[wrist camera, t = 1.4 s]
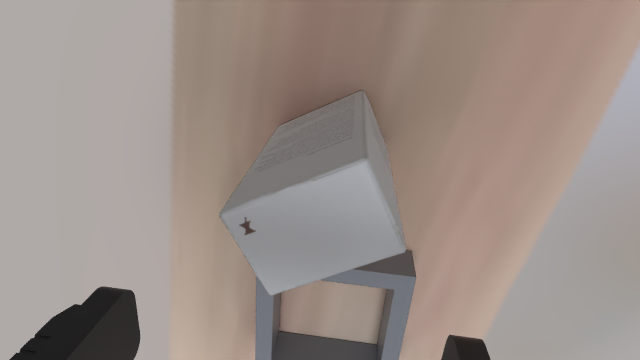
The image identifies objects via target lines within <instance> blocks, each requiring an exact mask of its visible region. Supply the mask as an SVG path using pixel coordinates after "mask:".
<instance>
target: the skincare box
mask: <svg viewBox="0 0 640 360" xmlns="http://www.w3.org/2000/svg"><path fill="white" fill-rule="evenodd" d="M219 216H220V218H221V219H222V221H223V222H224V224H225V225H226V227H227V228H228V230H229V231H230V233H231V234H232V236H233V238H234V239H235V241H236V242H237V244H238V246H239V247H240V249H241V250H242V252H243V254H244V255H245V257H246V259H247V260H248V262H249V264H250V265H251V267H252V268H253V270H254V272H255V273H256V275H257V277H258V278H259V280H260V281H261V283H262V285H263V286H264V288H265V289H266V291H267V292H268V294H269V295H275V294H277V293H281V292H284V291H287V290H290V289H293V288H296V287H299V286H302V285H306V284H309V283H312V282H315V281H318V280H321V279H324V278H327V277H330V276H333V275H336V274H339V273H342V272H345V271H348V270H351V269H354V268H357V267H360V266H364V265H367V264H370V263H373V262H376V261H379V260H382V259H385V258H388V257H392V256H395V255H398V254H402V253H404V252H405V251H406V245H405V240H404V234H403V229H402V224H401V219H400V213H399V208H398V203H397V198H396V193H395V187H394V182H393V176H392V171H391V166H390V160H389V155H388V149H387V146H386V144H385V141H384V139H383V136H382V134H381V131H380V129H379V126H378V123H377V121H376V118H375V116H374V113H373V111H372V108H371V106H370V103H369V101H368V98H367V96H366V93H365V92H364V90H361V91H358V92H356V93H354V94H351V95H349V96H347V97H344V98H342V99H340V100H337V101H335V102H333V103H331V104H328V105H326V106H323V107H321V108H319V109H317V110H314V111H312V112H310V113H307V114H305V115H303V116H300V117H298V118H296V119H293V120H291V121H289V122H287V123H284V124H282V125H280V126H278V128H277V129H276V131H275V132H274V134H273V135H272V136H271V138H270V139H269V141H268V142H267V144H266V145H265V147H264V148H263V150H262V151H261V153H260V154H259V156H258V157H257V159H256V160H255V162H254V163H253V165H252V166H251V168H250V169H249V171H248V172H247V174H246V175H245V177H244V178H243V180H242V181H241V182H240V184H239V185H238V187H237V188H236V190H235V191H234V192H233V194H232V195H231V197H230V198H229V200H228V202H227V203H226V204H225V206H224V207H223V209H222V211H221V212H220V215H219Z"/></svg>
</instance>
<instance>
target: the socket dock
mask: <svg viewBox="0 0 640 360" xmlns="http://www.w3.org/2000/svg"><path fill="white" fill-rule="evenodd" d="M321 280H323V281H331V282H338V283H346V284H354V285H361V286H369V287H377V288H384V289H387V293H386V299H385V304H384V310H383V315H382V321H381V326H380V332H379V337H378V343H377V345H374V344H366V343H359V342H352V341H345V340H338V339H331V338H323V337H316V336H309V335H302V334H295V333H288V332H280V331H279V323H280V301H281V293H277V294H275V295H269V294H268V292H267V291H266V289H265V288H264V286H263V285H262V283H261V281H260V280H259V278H258V277H256V354H255V360H399V356H400V351H401V346H402V342H403V337H404V332H405V328H406V323H407V318H408V314H409V309H410V304H411V300H412V295H413V290H414V286H415V281H416V273H415V268H414V262H413V257H412V251H408V250H406V251H405V252H404V253H402V254H398V255H395V256H392V257H388V258H385V259H382V260H379V261H376V262H373V263H370V264H367V265H364V266H360V267H357V268H354V269H351V270H348V271H345V272H342V273H339V274H336V275H333V276H330V277H327V278H324V279H321Z"/></svg>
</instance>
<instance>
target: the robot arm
mask: <svg viewBox="0 0 640 360" xmlns="http://www.w3.org/2000/svg"><path fill="white" fill-rule="evenodd" d="M139 343H140V330H139V322H138V315H137V308H136V301H135V295H134V293H133V291H131V290H125V289H118V288H111V287H100V288H98V289H97V290H95V291H94V293H92V294H91V296H90V297H89V298H88V299H87V300H86V301H85V302H84V303H83V304H82V305H77V304H75V305H73V306H71V307H70V308H68V309H66V310H65V311H63V312H61V313H59V314H58V315H56V316H54V317H53V318H52V319H51V320H50V321H48V323H46V324H45V325H44V326H43V327H42V328H41V329H40V330H39V331H38V332H37V333H36V334H35V337H34V338H32V339H30V340H29V341H28V342H27V343H26V344H25V345H24V346H23V347H22V348H21V349H20V352H19V353H16V354H15V355H14V356H13V357H12V358H11V359H10V360H133V359H134V358H135V356H136V353H137V351H138V347H139ZM441 360H490V357H489V354H488V352H487V349H486V346H485V343H484V342H483V340H481V339H476V338H469V337H462V336H454V335H449V336H448V338H447V341H446V344H445V348H444V352H443V356H442V359H441Z"/></svg>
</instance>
